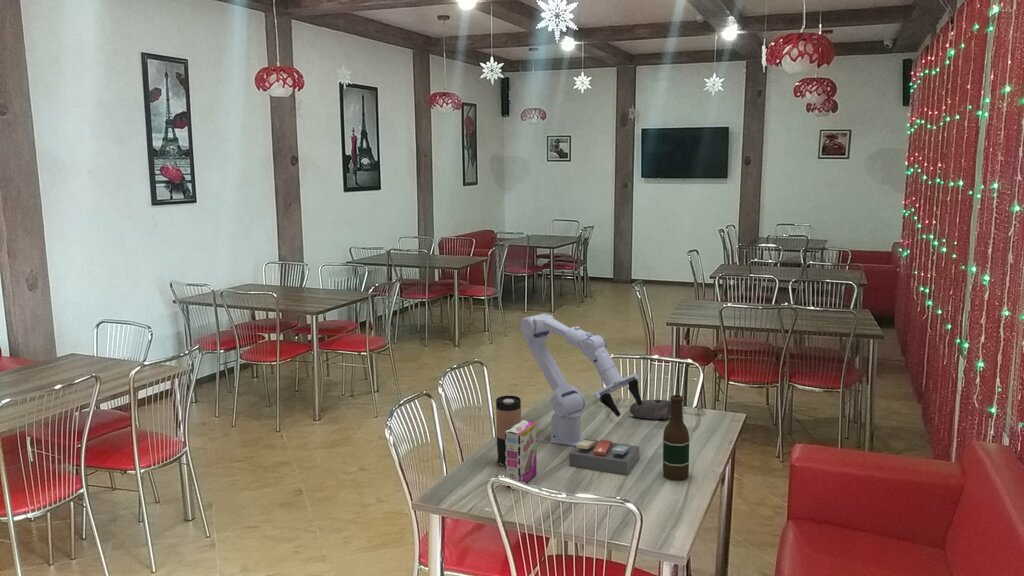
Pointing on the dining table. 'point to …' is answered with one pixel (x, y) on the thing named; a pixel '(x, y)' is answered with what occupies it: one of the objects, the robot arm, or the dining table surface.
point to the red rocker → (602, 447)
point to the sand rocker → (585, 444)
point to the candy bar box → (521, 451)
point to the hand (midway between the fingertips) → (629, 410)
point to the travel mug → (506, 420)
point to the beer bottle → (676, 443)
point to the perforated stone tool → (652, 409)
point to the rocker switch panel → (604, 459)
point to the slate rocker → (620, 449)
